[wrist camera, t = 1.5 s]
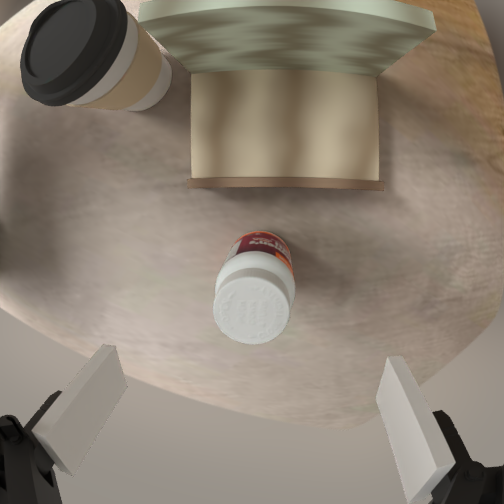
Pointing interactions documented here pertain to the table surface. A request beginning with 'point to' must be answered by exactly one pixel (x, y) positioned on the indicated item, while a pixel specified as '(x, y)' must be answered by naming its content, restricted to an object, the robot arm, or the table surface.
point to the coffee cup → (93, 58)
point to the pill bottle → (255, 289)
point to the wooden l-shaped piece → (285, 85)
